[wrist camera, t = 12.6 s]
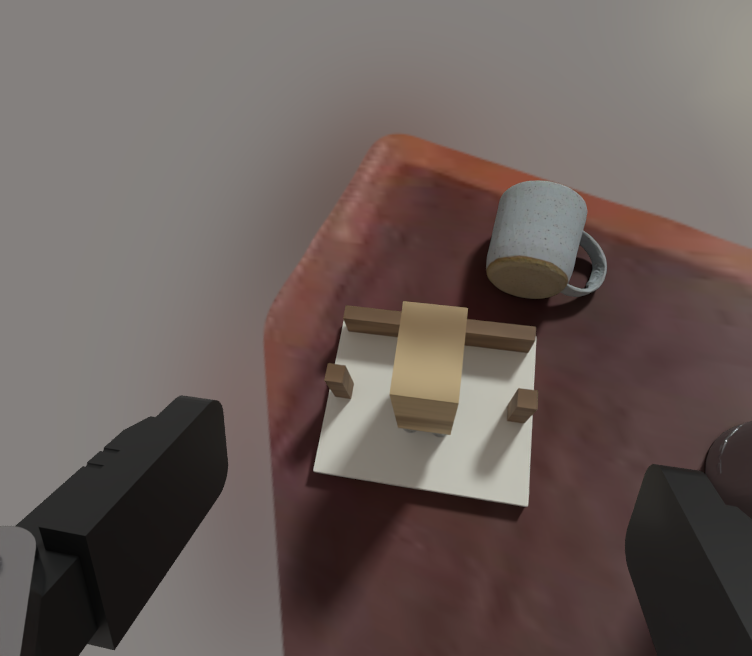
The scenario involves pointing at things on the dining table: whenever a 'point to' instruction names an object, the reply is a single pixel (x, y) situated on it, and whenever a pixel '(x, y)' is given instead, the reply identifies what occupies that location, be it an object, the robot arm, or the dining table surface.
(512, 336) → the walnut frame
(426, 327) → the oak block
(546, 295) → the ceramic mug
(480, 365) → the peg stand
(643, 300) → the dining table surface
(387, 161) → the dining table surface
